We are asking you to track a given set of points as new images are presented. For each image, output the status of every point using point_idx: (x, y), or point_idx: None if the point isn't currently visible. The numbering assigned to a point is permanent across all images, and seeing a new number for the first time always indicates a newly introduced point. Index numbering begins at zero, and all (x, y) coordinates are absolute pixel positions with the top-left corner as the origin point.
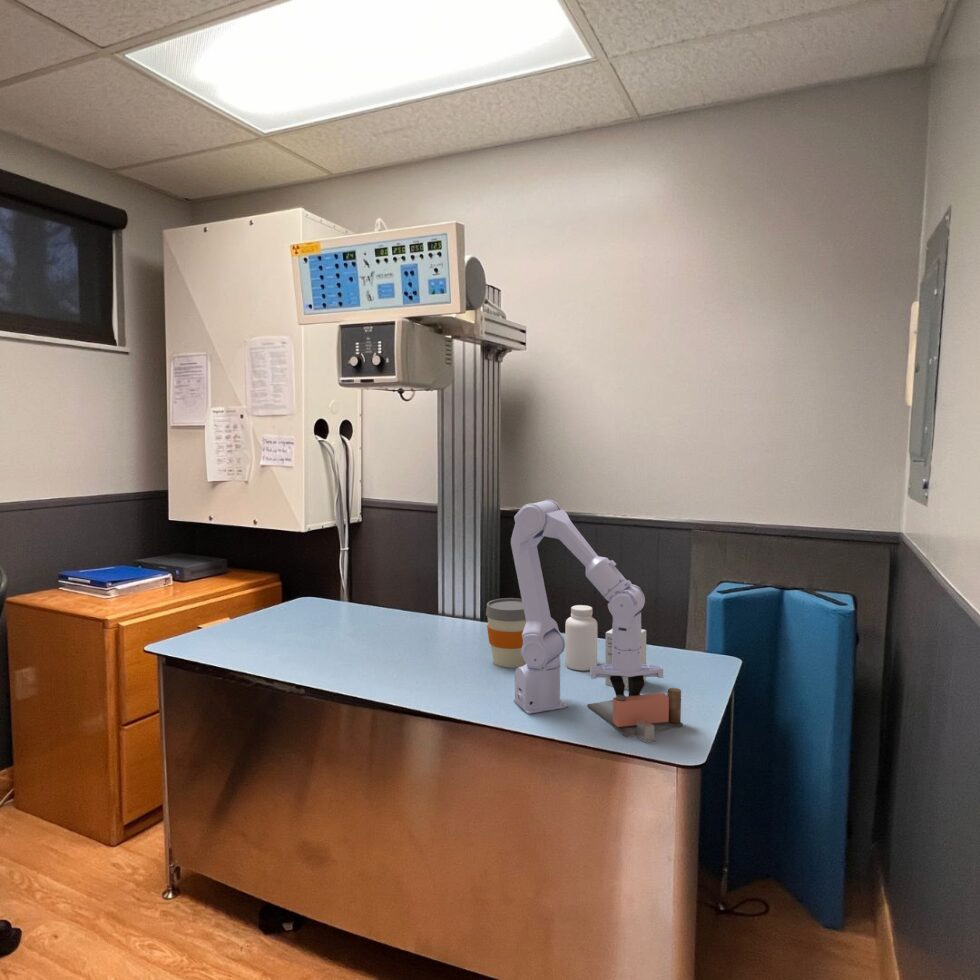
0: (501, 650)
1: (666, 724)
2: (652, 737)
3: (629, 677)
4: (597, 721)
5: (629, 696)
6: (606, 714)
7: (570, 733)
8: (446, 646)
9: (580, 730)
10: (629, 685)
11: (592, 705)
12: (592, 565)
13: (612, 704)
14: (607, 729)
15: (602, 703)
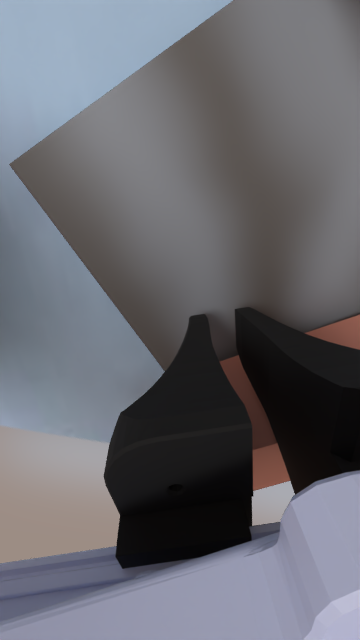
0: None
1: None
2: None
3: (333, 461)
4: (99, 325)
5: (254, 454)
6: (131, 289)
7: (24, 417)
8: None
9: (51, 396)
10: (294, 399)
11: (44, 181)
12: None
13: (159, 147)
14: (141, 378)
15: (98, 139)
